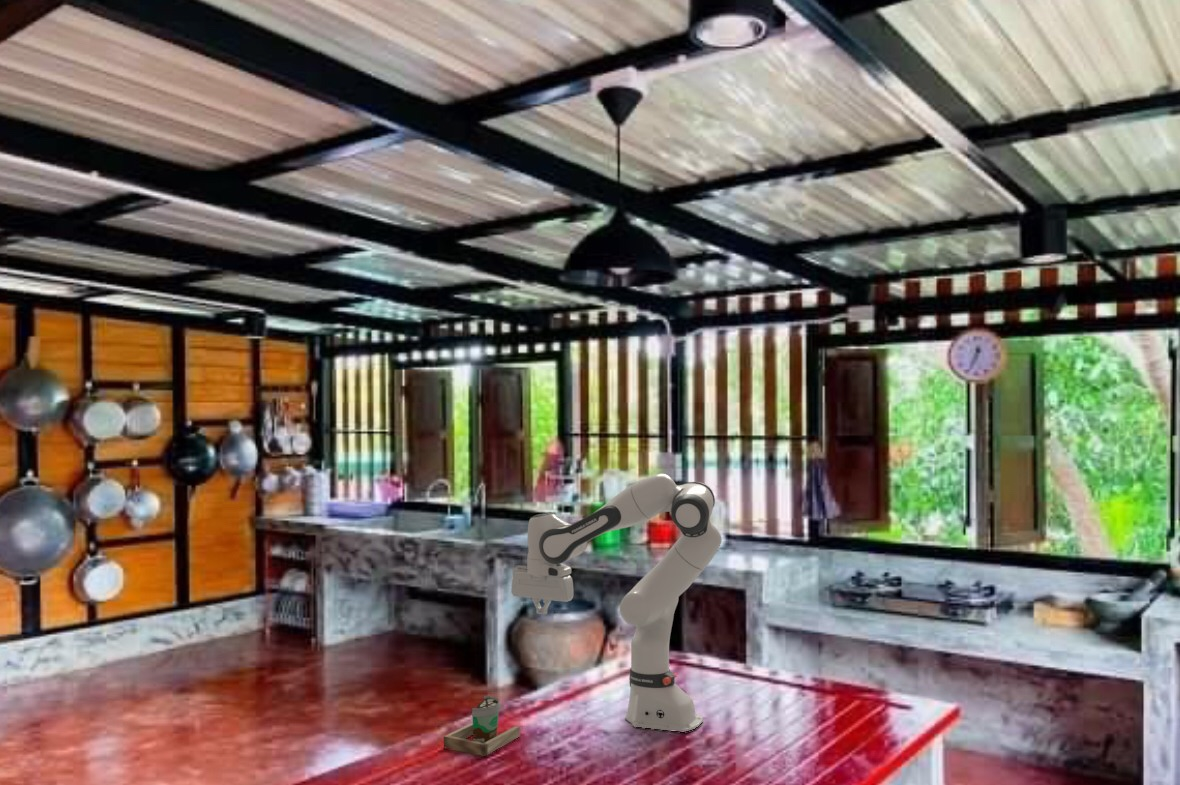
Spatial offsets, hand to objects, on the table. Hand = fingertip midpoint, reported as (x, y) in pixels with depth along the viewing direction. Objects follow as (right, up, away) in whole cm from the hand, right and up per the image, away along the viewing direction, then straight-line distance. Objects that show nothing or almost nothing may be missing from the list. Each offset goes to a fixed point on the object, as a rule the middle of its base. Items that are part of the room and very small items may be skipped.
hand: (541, 613), depth 272 cm
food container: (-13, -29, -24) cm, 40 cm away
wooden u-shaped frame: (-14, -28, -26) cm, 41 cm away
